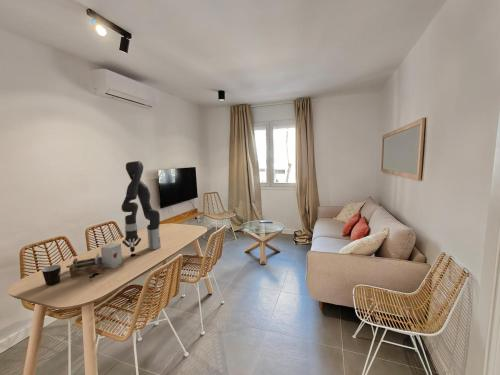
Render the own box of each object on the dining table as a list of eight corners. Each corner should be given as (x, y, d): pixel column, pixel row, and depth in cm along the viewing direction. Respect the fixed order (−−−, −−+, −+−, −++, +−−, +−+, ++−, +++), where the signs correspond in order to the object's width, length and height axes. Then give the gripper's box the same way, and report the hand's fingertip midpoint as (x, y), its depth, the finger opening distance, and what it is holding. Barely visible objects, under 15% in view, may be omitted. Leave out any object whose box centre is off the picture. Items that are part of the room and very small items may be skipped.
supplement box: (113, 268, 152) (111, 248, 150) (102, 267, 154) (100, 247, 152) (122, 262, 161) (121, 243, 159) (112, 261, 163) (110, 242, 161)
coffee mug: (51, 279, 139) (49, 264, 137) (66, 279, 139) (64, 264, 138) (35, 290, 127) (33, 274, 126) (51, 289, 128) (49, 273, 127)
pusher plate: (100, 263, 158) (99, 253, 157) (98, 270, 149) (97, 259, 148) (69, 269, 150) (67, 258, 149) (65, 277, 141) (63, 265, 140)
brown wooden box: (106, 262, 162) (106, 253, 161) (104, 271, 149) (103, 261, 148) (75, 268, 153) (74, 258, 153) (70, 278, 140) (69, 267, 139)
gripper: (141, 226, 167) (142, 248, 169) (121, 228, 161) (122, 251, 163) (141, 229, 161) (142, 252, 163) (120, 231, 155) (121, 255, 157)
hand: (132, 251), depth 163 cm, fingers closed
